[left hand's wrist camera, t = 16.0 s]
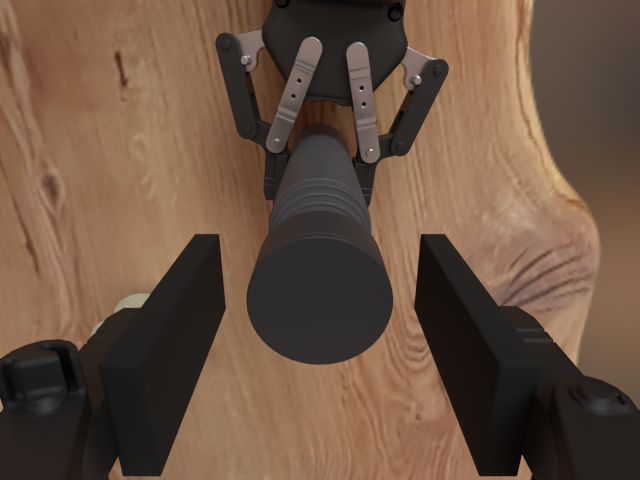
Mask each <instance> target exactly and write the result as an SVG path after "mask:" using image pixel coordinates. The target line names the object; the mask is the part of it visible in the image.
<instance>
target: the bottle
mask: <svg viewBox="0 0 640 480" xmlns="http://www.w3.org/2000/svg"><path fill="white" fill-rule="evenodd" d="M309 211H331V212H335V213H340V214H342V215H345V216H348V217H350V218H352V219H353V220H355V221H357V222H358V223H360V224H361V225H362V226H363V227H364V228H365V229H367V230H368V232H369V233H370V234H371V221H370V215H369V211H368V208H367V205H366V202H365V199H364V196H363V193H362V190H361V187H360V184H359V181H358V178H357V175H356V172H355V169H354V166H353V163H352V160H351V157H350V154H349V151H348V148H347V145H346V142H345V140H344V138H343V136H342V135H341V133H340V132H339V131H338V130H336V129H335V128H333V127H332V126H329V125H326V124H314V125H311V126H308V127H307V128H305V129H304V130H302V131H301V132H300V133H299V135H298V136H297V138H296V140H295V143H294V145H293V148H292V151H291V154H290V157H289V160H288V163H287V166H286V169H285V172H284V175H283V178H282V181H281V184H280V187H279V190H278V193H277V196H276V199H275V202H274V205H273V208H272V211H271V214H270V219H269V234H270V232H271V231H272V230H273V229H274V228H275V227H276V226H278V225H279V224H280V223H281V222H283V221H285V220H286V219H288V218H290V217H292V216H295V215H297V214H300V213H304V212H309Z"/></svg>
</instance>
